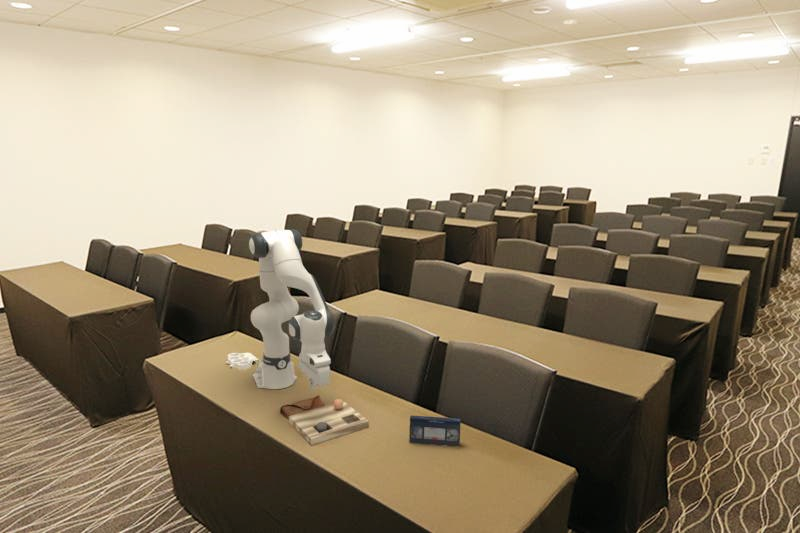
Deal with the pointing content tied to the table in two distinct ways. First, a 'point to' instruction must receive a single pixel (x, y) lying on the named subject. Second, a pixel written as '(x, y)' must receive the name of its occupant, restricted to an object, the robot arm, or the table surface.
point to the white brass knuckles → (241, 360)
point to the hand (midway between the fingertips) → (313, 387)
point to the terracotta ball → (338, 404)
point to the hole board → (328, 422)
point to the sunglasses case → (301, 406)
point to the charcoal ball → (321, 427)
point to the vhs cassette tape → (434, 430)
